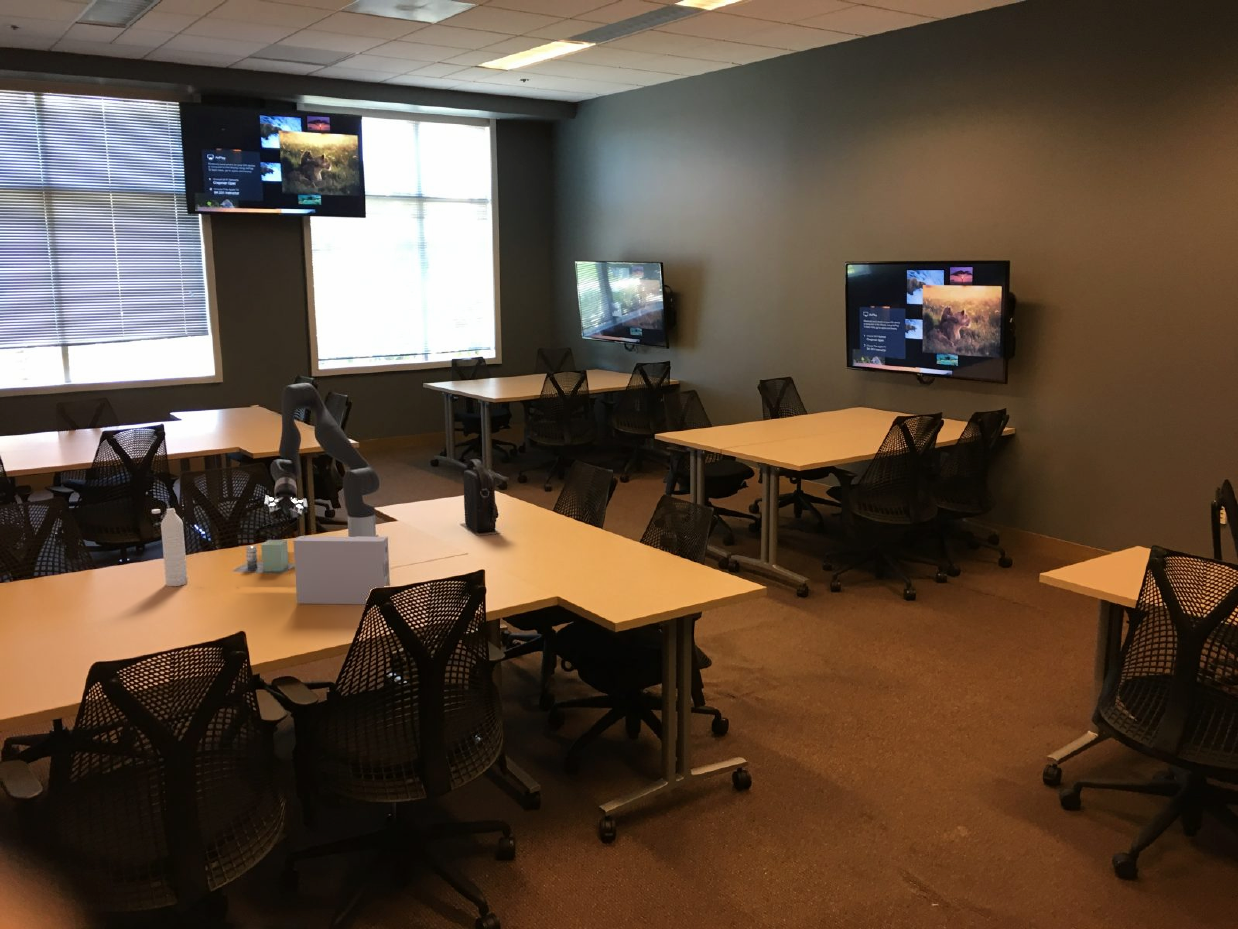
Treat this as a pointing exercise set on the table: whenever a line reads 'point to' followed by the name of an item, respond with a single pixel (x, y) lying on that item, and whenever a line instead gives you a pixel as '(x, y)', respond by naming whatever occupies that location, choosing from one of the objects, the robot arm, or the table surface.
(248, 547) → the post stand
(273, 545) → the pale green block
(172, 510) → the water bottle
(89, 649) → the table surface
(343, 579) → the game console
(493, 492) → the shoulder bag
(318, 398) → the robot arm
